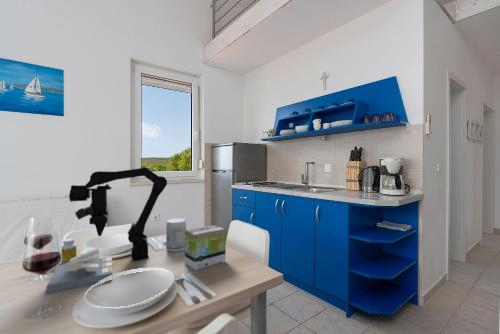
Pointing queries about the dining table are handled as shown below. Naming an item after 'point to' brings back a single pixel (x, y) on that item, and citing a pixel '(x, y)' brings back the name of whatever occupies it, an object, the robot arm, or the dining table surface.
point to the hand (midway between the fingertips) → (99, 235)
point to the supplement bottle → (68, 250)
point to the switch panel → (79, 276)
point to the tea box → (205, 246)
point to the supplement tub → (175, 235)
